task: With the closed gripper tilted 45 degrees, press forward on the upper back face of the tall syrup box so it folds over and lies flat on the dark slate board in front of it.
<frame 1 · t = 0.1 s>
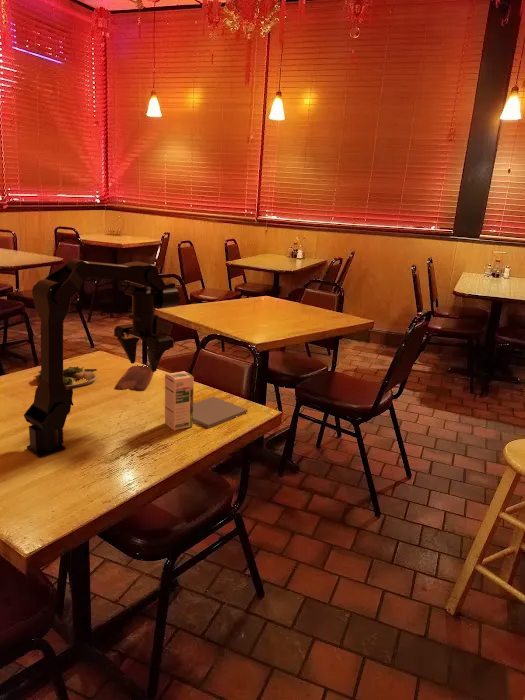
hand: (143, 367, 138), 15 cm above the table, tool pointing down, fingers open, 9 cm apart
salad plate: (65, 381, 166), on the table
slate board: (211, 412, 148), on the table
syrup box: (178, 425, 139), on the table
wooden tablet: (138, 378, 174), on the table
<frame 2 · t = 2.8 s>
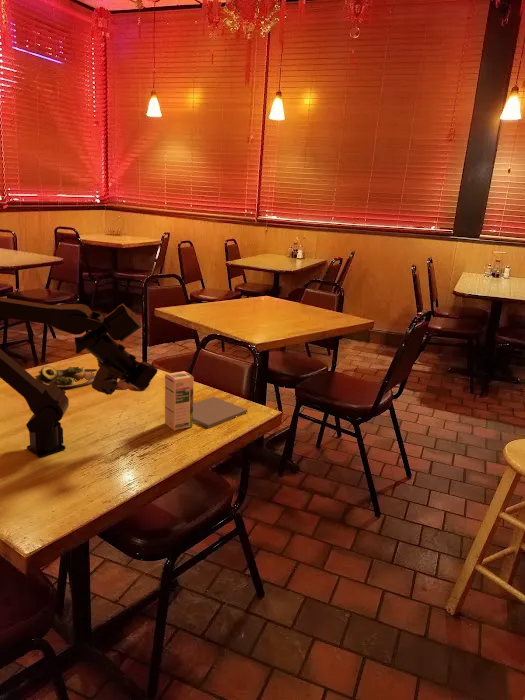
hand: (147, 386, 128), 13 cm above the table, tool tilted 45°, fingers closed
nothing on the table moved.
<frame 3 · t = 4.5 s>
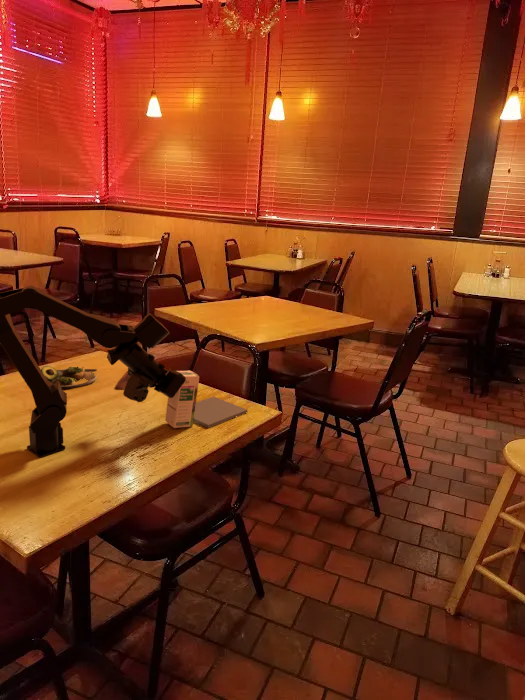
hand: (174, 392, 134), 10 cm above the table, tool tilted 45°, fingers closed
syrup box: (178, 424, 139), on the table, touching gripper
everything else where it was.
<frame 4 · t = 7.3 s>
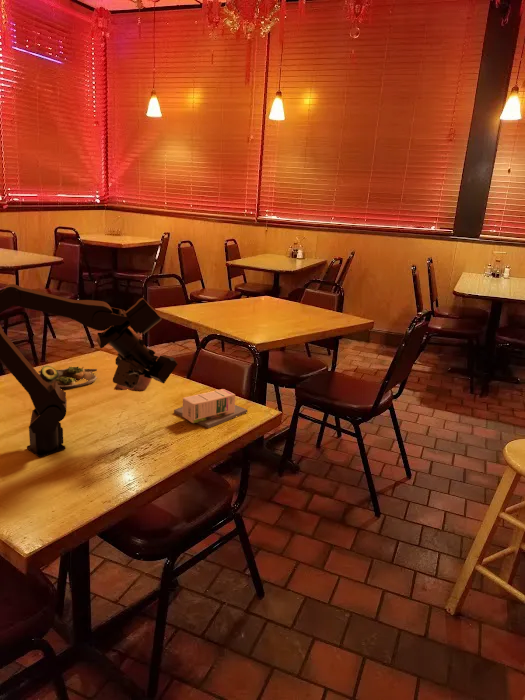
hand: (164, 381, 132), 13 cm above the table, tool tilted 45°, fingers closed
syrup box: (186, 410, 139), point 4 cm above the table, touching slate board
everything else where it was.
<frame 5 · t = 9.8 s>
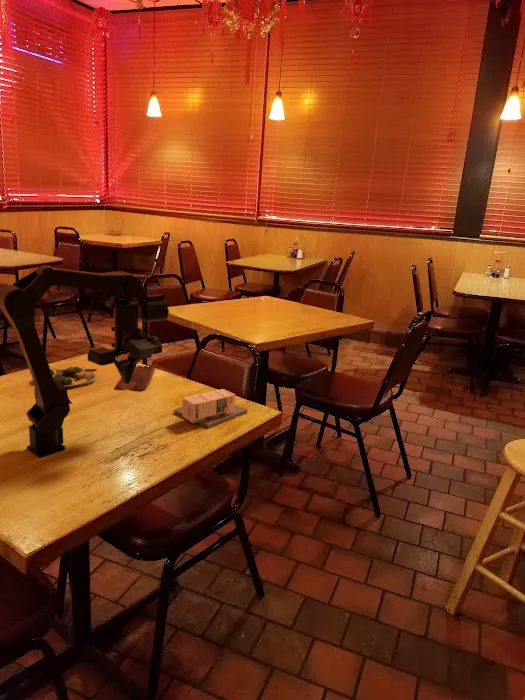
hand: (126, 383, 130), 13 cm above the table, tool pointing down, fingers closed
nothing on the table moved.
at the end: syrup box tilted 90°; syrup box touching slate board; syrup box inside the target area (7.4 cm from its centre), point 3.9 cm above the table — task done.
